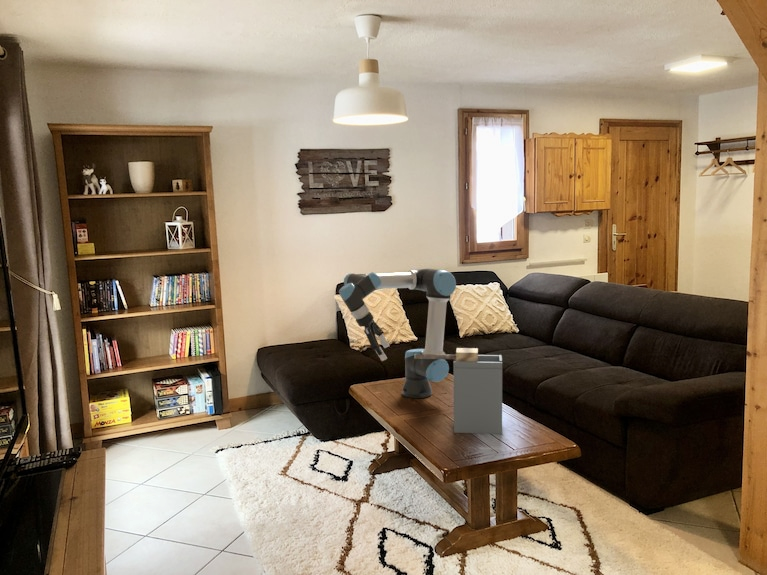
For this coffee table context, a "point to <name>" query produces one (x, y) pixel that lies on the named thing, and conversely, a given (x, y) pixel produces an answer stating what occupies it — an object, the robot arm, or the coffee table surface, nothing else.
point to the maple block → (461, 355)
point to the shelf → (478, 395)
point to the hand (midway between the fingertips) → (385, 353)
